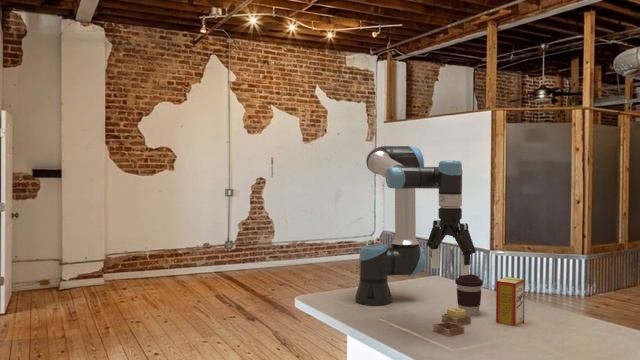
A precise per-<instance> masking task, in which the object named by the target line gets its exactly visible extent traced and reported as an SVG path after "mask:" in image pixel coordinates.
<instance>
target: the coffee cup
mask: <svg viewBox="0 0 640 360" xmlns="http://www.w3.org/2000/svg"><path fill="white" fill-rule="evenodd" d="M454 280H455V284H456V285H457V286H456V287H457V288H456V296H457V297H456V298H457V299H456V300H457V305H458V306H457V308H459V309H463V310H466V315H468V316H471V317H472V316H473V317H476V316H479V315H480V306H481V302H482V301H481V300H482V299H481V298H482V286H483V285H484V282H483V281H484V280H483V279H480V278H479V275H476V274H470V273H469V275H461V274H460V275H458V277H456V278H455V279H454Z"/></svg>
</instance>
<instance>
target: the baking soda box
mask: <svg viewBox="0 0 640 360" xmlns="http://www.w3.org/2000/svg"><path fill="white" fill-rule="evenodd" d="M525 282H526V281H525V279H524V278H519V277H511V276H505V277H502V278H500V279H498V280H496V287H495V289H496V290H495V293H496V294H495V296H496V298H495V301H496V302H495V307H496V308H495V323H496V324H501V325H506V326H512V327H516V326H517V325H519V324H525Z"/></svg>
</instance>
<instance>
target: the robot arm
mask: <svg viewBox="0 0 640 360" xmlns="http://www.w3.org/2000/svg"><path fill="white" fill-rule="evenodd" d="M365 163H366V167H367V169H368V170H369V171H370V172H371V173H373V174H375V175H379V176H381V177H383V178H384V179H385V184H386V187H387V188H388V189H394V239H393V240H392V241H391V246H390V247H389V246H388V244H386V243H375V244H369V245H365V246H363V247H361V249H359V259H358V260H359V283H358V285H357V290H356V291H355V292H356V293H355V297H354V298H355V299H354V300H355V302H356V303H358V304H361V305H365V306H366V305H367V306H384V305H388V304H389V305H390V304H392V302H393V300H392V299H393V297H392V293H391V289H390V285H389V283H388V282H389V281H388V277H389V276H393V277H394V276H412V275H413V276H414V275H419V274H421V272H422V271H423V268H424V266H425V258H426V257H425V251H424V250H425V249H424V248H423V247H421V246H420V242H419V241H418V240H417V239H416V237H417V235H416V233H417V231H416V230H417V229H416V223H417V222H416V217H417V216H416V213H417V212H416V210H417V209H416V189H431V190H432V189H436V190H437V189H438V206H439V207H438V219H439V220H437V219H436V220H435V219H434V220H433V221H432V228H431V231H430V233H429V236H428V239H427V242H426V246H427V247H429V248H430V254H431V255H430V257H431V269H433V270H434V269H435V270H436V269H440V267H441V266H440V264H441V263H440V250H441V249H440V245H441V244H442V242H443V240H444V239H445V238H446V236H450V237H452V238H453V239H455V242H456V244H457V245H458V247H459V249H460V250H461V252H462V253H461V255H460V275H469V274H470V265H471V255H472V254H476V252H477V251H476V249H475V248H476V247H475V245H474V242H473V239H472V237H471V234H470V233H471V232H470V230H469V224H468V223H467V222H464V223H461V220H462V218H463V209H462V206H463V196H462V195H463V193H462V192H463V191H462V190H463V166H462V165H463V163H462V162H461V161H460V160H440V161H439V162H438V166H425V160H424V155H423V152H422V151H421V149H420V148H419V147H417V146H413V145H410V146H409V145H397V146H396V145H389V146H388V145H383V146H382V145H381V146H378V147H376V148H373V149H372V150H371V151H370V152H369V153H368V155H367V156H366V161H365Z"/></svg>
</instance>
